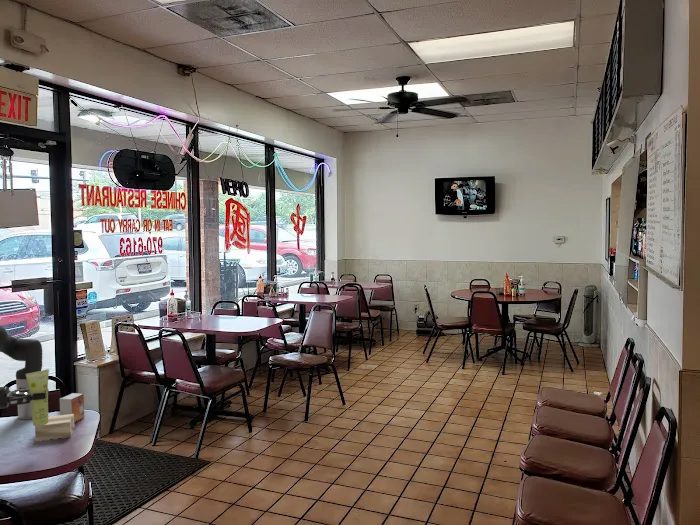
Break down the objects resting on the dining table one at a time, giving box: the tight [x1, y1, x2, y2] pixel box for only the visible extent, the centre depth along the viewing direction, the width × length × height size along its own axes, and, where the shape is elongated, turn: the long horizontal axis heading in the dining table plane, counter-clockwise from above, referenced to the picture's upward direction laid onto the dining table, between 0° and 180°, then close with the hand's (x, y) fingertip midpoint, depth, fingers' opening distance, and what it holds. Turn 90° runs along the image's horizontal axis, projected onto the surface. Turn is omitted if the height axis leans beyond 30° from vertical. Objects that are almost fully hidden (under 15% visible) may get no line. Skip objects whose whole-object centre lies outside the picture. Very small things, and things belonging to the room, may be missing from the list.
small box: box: [59, 392, 85, 424], centre depth 236 cm, size 8×6×10 cm
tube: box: [26, 369, 50, 427], centre depth 203 cm, size 6×5×20 cm
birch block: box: [34, 414, 75, 442], centre depth 221 cm, size 10×12×6 cm
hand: (46, 393), depth 204 cm, fingers closed on tube, 4 cm apart
